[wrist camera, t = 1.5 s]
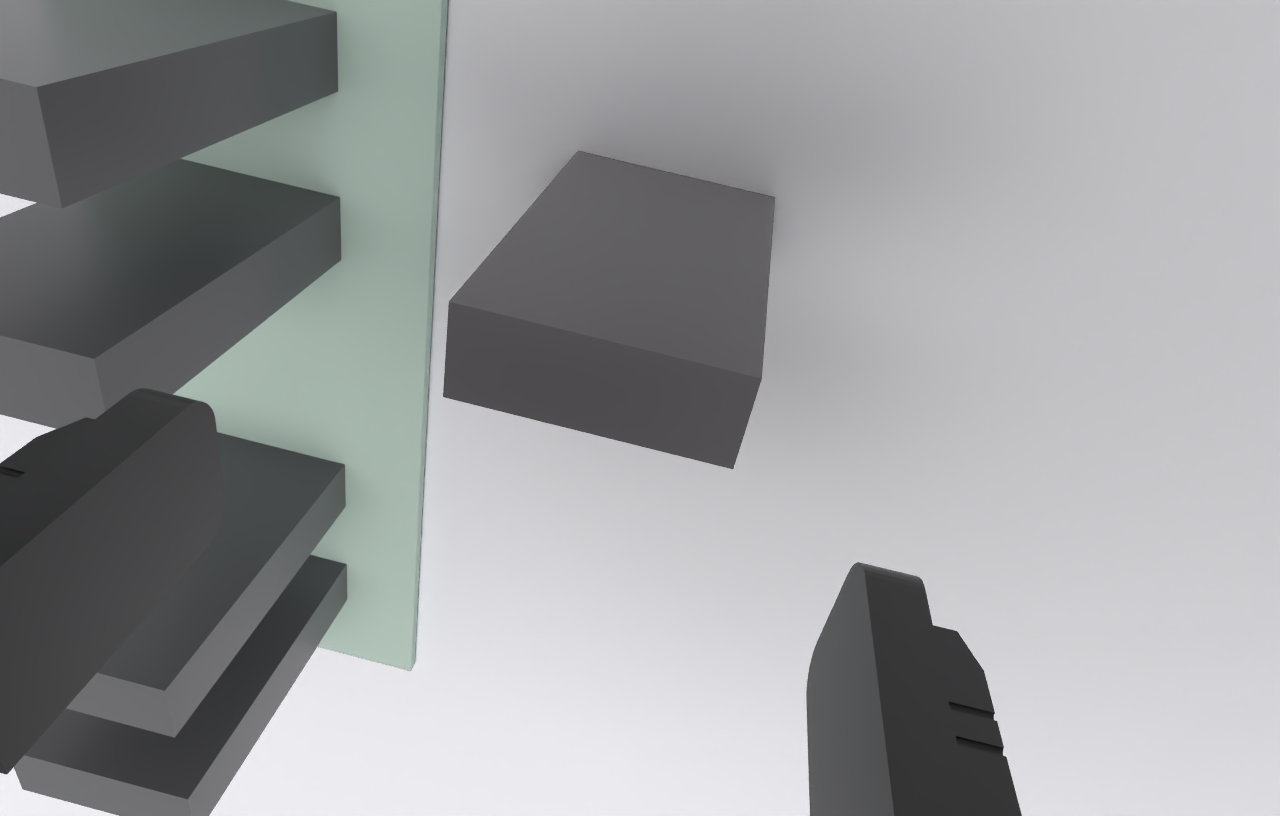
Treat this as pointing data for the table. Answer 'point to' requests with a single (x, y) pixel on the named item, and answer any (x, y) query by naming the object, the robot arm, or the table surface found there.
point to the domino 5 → (622, 310)
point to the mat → (354, 309)
